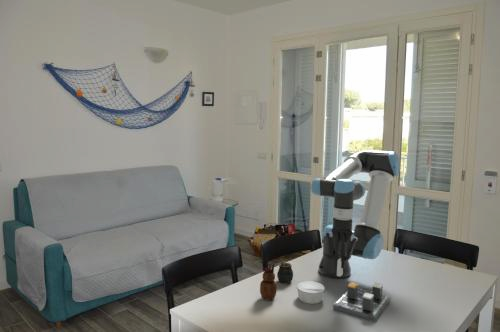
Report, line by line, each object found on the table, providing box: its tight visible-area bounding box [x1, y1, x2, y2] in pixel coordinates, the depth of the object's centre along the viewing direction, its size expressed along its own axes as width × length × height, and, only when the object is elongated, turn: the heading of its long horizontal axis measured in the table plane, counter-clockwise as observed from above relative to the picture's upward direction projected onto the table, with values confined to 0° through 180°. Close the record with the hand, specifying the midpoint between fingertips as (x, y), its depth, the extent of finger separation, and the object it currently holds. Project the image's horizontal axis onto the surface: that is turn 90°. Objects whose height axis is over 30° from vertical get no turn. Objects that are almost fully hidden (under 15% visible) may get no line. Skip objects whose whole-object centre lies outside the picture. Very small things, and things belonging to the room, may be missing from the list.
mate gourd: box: [276, 257, 294, 285], centre depth 176 cm, size 7×8×10 cm
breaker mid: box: [346, 282, 359, 299], centre depth 156 cm, size 3×4×5 cm
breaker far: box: [371, 282, 384, 299], centre depth 157 cm, size 3×4×5 cm
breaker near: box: [362, 293, 374, 311], centre depth 147 cm, size 3×4×5 cm
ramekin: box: [296, 280, 326, 305], centre depth 159 cm, size 11×11×5 cm
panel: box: [332, 288, 391, 322], centre depth 155 cm, size 16×20×2 cm
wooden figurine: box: [259, 262, 278, 301], centre depth 158 cm, size 7×6×15 cm
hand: (339, 275), depth 159 cm, fingers closed
